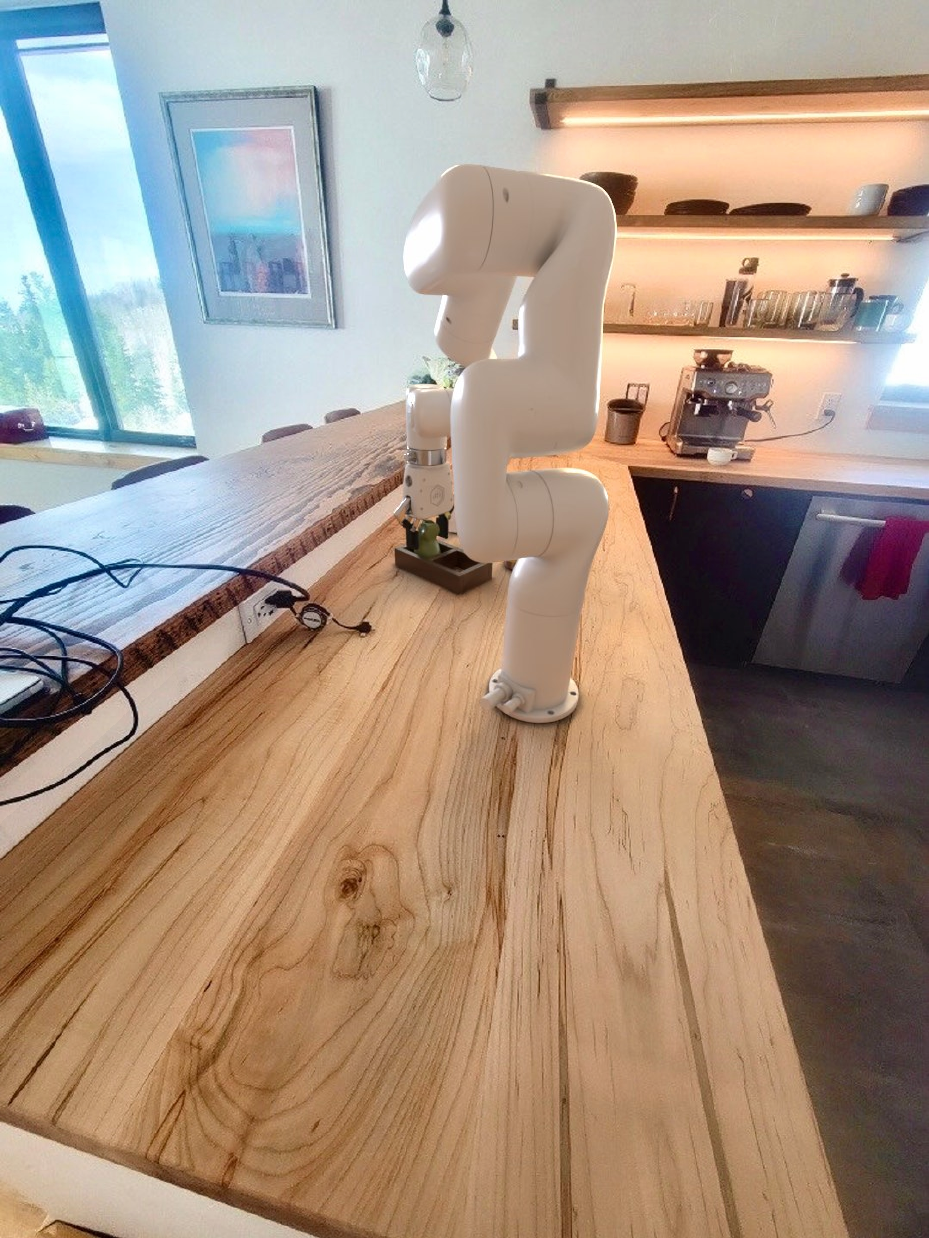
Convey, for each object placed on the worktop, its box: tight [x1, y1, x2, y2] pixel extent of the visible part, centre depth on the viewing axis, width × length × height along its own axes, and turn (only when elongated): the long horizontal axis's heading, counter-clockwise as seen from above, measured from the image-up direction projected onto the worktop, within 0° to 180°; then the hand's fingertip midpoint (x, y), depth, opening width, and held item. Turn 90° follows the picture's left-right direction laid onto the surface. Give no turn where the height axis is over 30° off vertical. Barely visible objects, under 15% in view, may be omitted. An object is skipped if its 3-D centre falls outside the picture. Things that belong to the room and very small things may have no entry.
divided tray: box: [393, 539, 494, 596], centre depth 104 cm, size 10×19×4 cm, turn 47°
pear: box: [414, 519, 441, 559], centre depth 105 cm, size 6×5×10 cm
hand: (427, 542), depth 104 cm, fingers open, 7 cm apart
